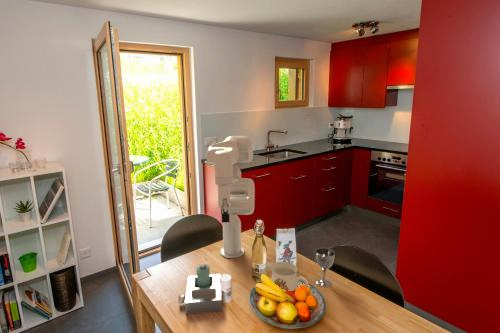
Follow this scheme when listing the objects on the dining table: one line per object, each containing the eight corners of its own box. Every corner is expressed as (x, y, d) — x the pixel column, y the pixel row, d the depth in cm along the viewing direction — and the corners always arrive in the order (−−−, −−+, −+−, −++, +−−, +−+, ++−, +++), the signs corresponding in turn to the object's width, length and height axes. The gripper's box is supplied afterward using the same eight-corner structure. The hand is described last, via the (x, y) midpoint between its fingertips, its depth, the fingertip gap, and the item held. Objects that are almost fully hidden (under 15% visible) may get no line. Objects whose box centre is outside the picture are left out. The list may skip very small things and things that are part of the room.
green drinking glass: (197, 283, 130) (196, 262, 128) (210, 282, 131) (209, 262, 129) (197, 291, 125) (196, 269, 123) (210, 290, 126) (209, 268, 124)
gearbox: (182, 286, 137) (181, 271, 136) (220, 283, 139) (220, 268, 137) (177, 314, 120) (176, 297, 118) (221, 311, 122) (221, 294, 120)
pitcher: (304, 311, 121) (305, 279, 118) (261, 299, 128) (261, 270, 125) (310, 294, 131) (311, 265, 128) (270, 284, 138) (270, 256, 135)
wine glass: (334, 287, 136) (336, 256, 132) (316, 287, 136) (318, 256, 132) (330, 277, 143) (331, 247, 140) (313, 277, 143) (314, 247, 140)
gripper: (214, 174, 139) (216, 210, 143) (215, 186, 123) (216, 226, 127) (231, 174, 140) (232, 209, 144) (234, 185, 123) (235, 225, 127)
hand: (225, 217), depth 135 cm, fingers open, 9 cm apart
